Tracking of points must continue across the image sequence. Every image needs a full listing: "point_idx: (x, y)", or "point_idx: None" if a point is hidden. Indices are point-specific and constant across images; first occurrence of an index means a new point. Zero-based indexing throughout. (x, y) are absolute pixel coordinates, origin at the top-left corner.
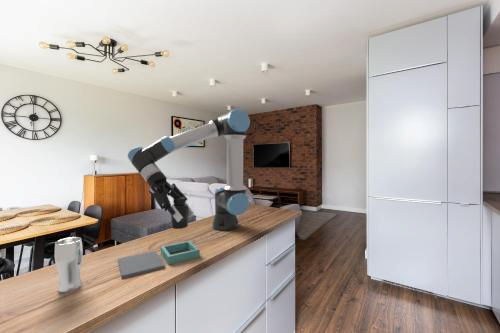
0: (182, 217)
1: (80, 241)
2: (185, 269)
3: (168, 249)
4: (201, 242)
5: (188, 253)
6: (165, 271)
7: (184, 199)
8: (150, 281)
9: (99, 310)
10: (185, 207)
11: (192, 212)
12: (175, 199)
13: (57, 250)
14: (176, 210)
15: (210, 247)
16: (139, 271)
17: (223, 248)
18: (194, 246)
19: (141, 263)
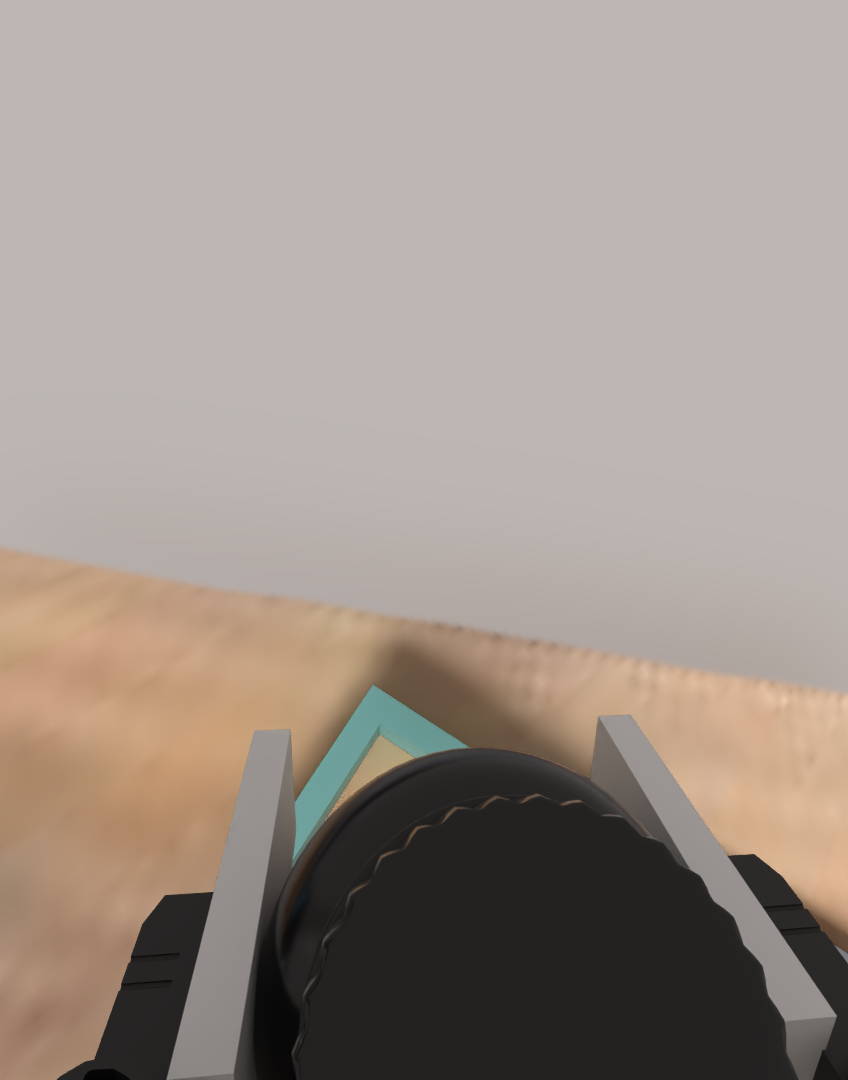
0: (607, 718)
1: None
2: (585, 665)
3: None
4: (28, 922)
5: (459, 744)
6: (683, 781)
7: (495, 799)
8: (822, 770)
9: None
10: (494, 750)
11: (284, 746)
12: (781, 1059)
13: None
14: (704, 848)
15: (149, 733)
16: (842, 951)
17: (142, 611)
18: (322, 781)
19: None
